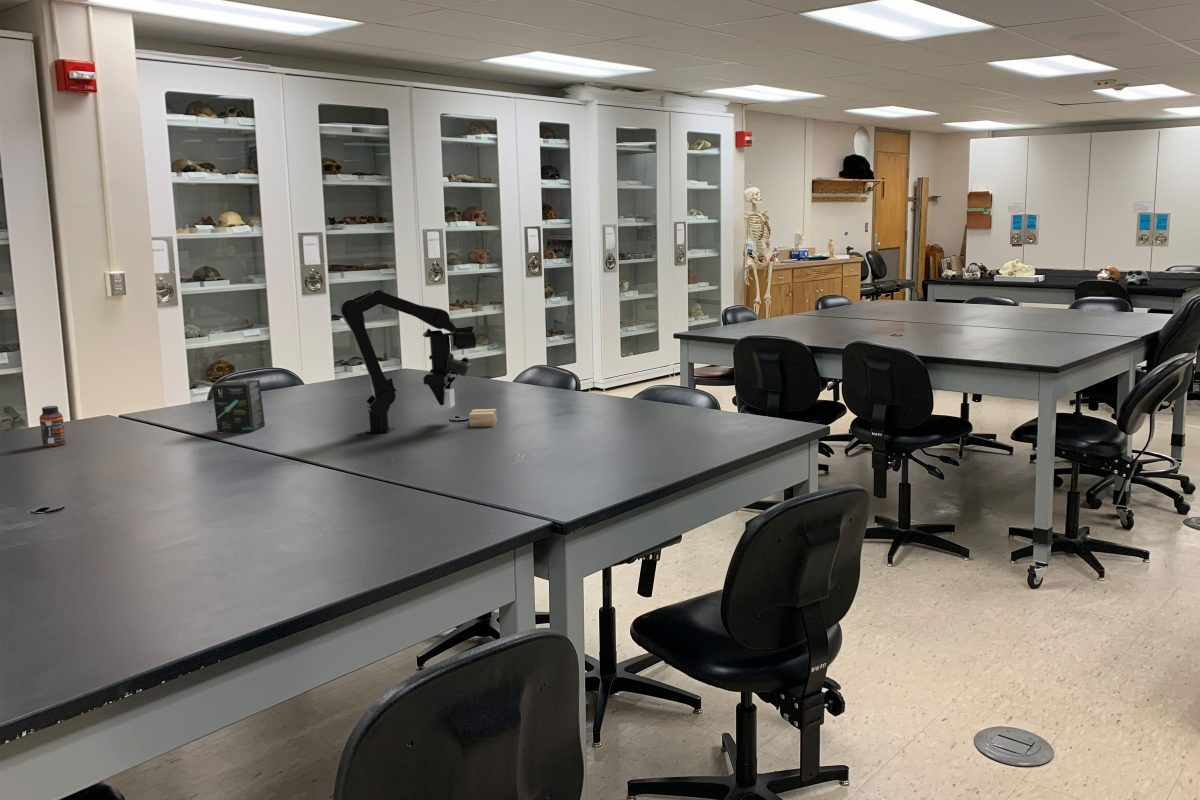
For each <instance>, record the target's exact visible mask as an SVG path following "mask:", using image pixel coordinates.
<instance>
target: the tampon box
mask: <svg viewBox="0 0 1200 800" xmlns="http://www.w3.org/2000/svg"><path fill="white" fill-rule="evenodd" d="M212 395H213V404H214V412H215V413H214V414H215V422H216V430H217V433H218V432H236V433H253V432H254V431H256V430H259V429H260V428H263V427H265V426H266V421H265V415H264V407H263V406H264V405H263V400H262V391H261V381H260V379H243V380H239V379H236V380H225V381H222V382H219V383H216V384H213V385H212Z"/></svg>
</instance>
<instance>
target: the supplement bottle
mask: <svg viewBox="0 0 1200 800" xmlns="http://www.w3.org/2000/svg"><path fill="white" fill-rule="evenodd" d="M41 411H42V413H41V415H39V425H40V426H39V427H40V434H41V438H42V439H41V440H42V445H43V447H47V448H53V446H54V447H59V446H60V445H61V446H63V444H64V445H65V444H66V443H67V439H66V436H67V435H66V430H65V424H64V422H65V421H64V416H63V414H62V413H61V412H60V411H59V407H58V405H47V406H42V408H41Z"/></svg>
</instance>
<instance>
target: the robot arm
mask: <svg viewBox="0 0 1200 800" xmlns="http://www.w3.org/2000/svg"><path fill="white" fill-rule="evenodd" d="M379 305H381V306H385V307H387V308H390V309H393V310H396V311H399V312H401V313H403V314H404V313H405V314H407V315H409V316H412V317H415V318H417V319H419V321H421V322H424V323H425V324H427V325H429V326H431V327H433V328H435V329H437V330H432V329H431V328H426V331H425V332H424V333H422V337H424V338H429V344H430V346H429V347H430V355H429V356H428V357H429V358H428V359H429V360H431V369H429V371H430V372H428V373H427V374H425V375H424V376H423V379H422V380H423V385H427V386H428V387H429V389H430V390H431V392H432V394H433V393H434V395H435V397H436V399H437V401H438V402H439V404H440V405H444V397H445V389H452V385H453V382H454V381H456V380H457V379H458V376H462V377H466V376H467V375H469V373H470V370H471V368H472V363H471V362H470V359H469V358H468V357H466V356H465V357H462V358H461V359H456V358H454V354H453V353H451V347H452V348H454V349H455V350H456V351H459V350H469V349H470V350H472V349H476V346H477V337H476V335H475V330H474V327H473V325H466V326H460V327H459V326H455V324H454V323H453V322H452V321H451V317H450V314H449V313H448V312H447V311H446V310H444V309H441V308H439V307H433V306H427V305H422V304H421V305H420V304H417V303H414V302H412V301H409V300H406V299H404V298H402V297H398V296H396V295H392V294H390V293H387V292H385V291H383V290H381V289H378V288H376V289H373V290H371V291H370V292H368V293H365V294H363V295H359V296H357V297H354V298H345V299H343V300H342V301H341V302H340V303H339V305H338V312H339V314H340V316H341V317H342V319H343V320H344V322H345V324H346V326H347V327H348V329H349V330H350V331H351V333H352V335H353V338H354V341H355V343H356V346H357V348H358V350H359V353H360V356H361V358H362V361H363V363H364V366H365V368H366V370H367V374H368V377H369V383H370V389H371V396H369V397H368V399H366V401H365V405H366V407H367V409H368V410H367V413H368V425H369V426H368V427H369V429H366V431H365V434H370V433H372V434H378V433H379V434H382V433H383V434H386V433H389V432H391V430H394V426H390V417H389V416H390V414H389V413H390V412H389V410H390V407H391V405H392V404H393V403H394V402H395V401H396V397H397V396H396V392H397V389H396V387H395V386H394V382H393V378H392V377H391V376H389V375H387V376H385V374H384V373H383V370H382V367H381V365H380V362H379V360H378V358H377V355H376V352H375V350H374V346H373V345H372V343H371V342H372V341H371V340H370V337H369V334H368V332H367V329H366V324H365V316H364V312H366V311H368V310H370V309H372V308H373V307H376V306H379ZM442 330H445V331H447V332H443V331H442ZM453 375H455V376H453Z"/></svg>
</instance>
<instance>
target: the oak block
mask: <svg viewBox="0 0 1200 800" xmlns="http://www.w3.org/2000/svg"><path fill="white" fill-rule="evenodd" d="M470 411H471V412H470V413H468V414H469V415H468V419H469V427H470V428H474V427H495V425H496V423H497V422H498V418H497V416H498V415H497V408H484V409H483V408H481V409H472V410H470Z"/></svg>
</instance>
